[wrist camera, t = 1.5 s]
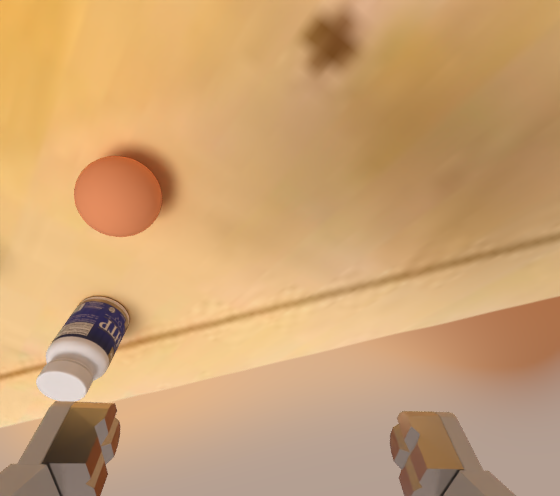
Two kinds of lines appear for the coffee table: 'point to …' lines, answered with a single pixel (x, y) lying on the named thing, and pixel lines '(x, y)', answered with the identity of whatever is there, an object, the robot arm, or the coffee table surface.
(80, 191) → the ball
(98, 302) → the pill bottle
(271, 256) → the coffee table surface
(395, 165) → the coffee table surface
